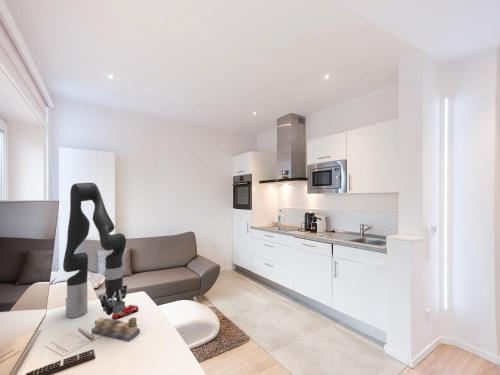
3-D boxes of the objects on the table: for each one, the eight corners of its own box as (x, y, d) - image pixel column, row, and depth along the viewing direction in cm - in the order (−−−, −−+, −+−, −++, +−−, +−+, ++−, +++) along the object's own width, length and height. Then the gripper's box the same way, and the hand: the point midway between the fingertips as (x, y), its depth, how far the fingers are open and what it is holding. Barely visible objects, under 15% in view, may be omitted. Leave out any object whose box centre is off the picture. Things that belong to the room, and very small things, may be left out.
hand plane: (91, 333, 116) (91, 316, 116) (104, 325, 122) (104, 309, 123) (129, 341, 109) (129, 323, 109) (140, 333, 115) (140, 316, 115)
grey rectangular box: (103, 311, 115) (103, 303, 115) (112, 306, 120) (112, 299, 120) (116, 313, 113) (116, 306, 113) (124, 308, 118) (124, 301, 118)
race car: (114, 321, 127) (113, 313, 127) (110, 317, 131) (110, 310, 131) (139, 311, 137) (139, 304, 137) (135, 308, 140) (135, 301, 140)
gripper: (120, 270, 124) (120, 304, 124) (94, 280, 111) (94, 318, 111) (131, 272, 122) (132, 306, 122) (107, 282, 108) (107, 320, 108)
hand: (114, 311), depth 116 cm, fingers closed on grey rectangular box, 5 cm apart
